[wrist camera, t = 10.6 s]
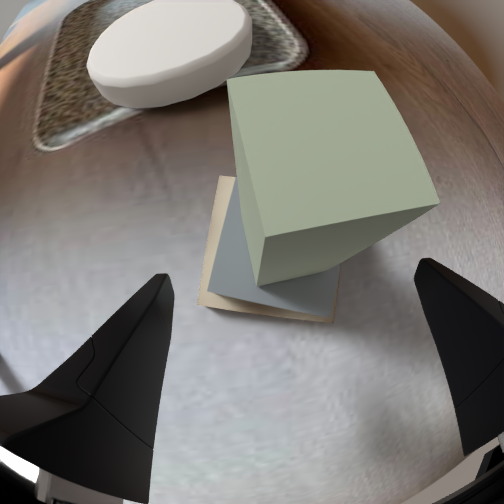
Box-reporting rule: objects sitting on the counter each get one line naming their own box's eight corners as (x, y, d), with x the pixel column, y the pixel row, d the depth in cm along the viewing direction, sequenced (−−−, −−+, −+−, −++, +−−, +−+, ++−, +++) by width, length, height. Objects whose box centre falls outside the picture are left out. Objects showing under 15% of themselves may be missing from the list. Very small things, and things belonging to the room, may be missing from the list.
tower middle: (339, 211, 21) (349, 201, 18) (320, 315, 20) (330, 317, 17) (238, 188, 21) (236, 175, 19) (212, 292, 20) (206, 291, 17)
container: (181, 135, 24) (169, 105, 20) (72, 89, 26) (57, 69, 22) (282, 33, 27) (284, 6, 23) (167, 8, 29) (162, -13, 24)
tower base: (336, 204, 24) (345, 194, 21) (325, 320, 22) (333, 323, 19) (222, 187, 24) (219, 175, 21) (203, 304, 22) (197, 304, 20)
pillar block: (308, 205, 18) (373, 71, 7) (325, 271, 17) (440, 203, 6) (241, 218, 18) (226, 79, 6) (256, 286, 17) (264, 236, 6)
